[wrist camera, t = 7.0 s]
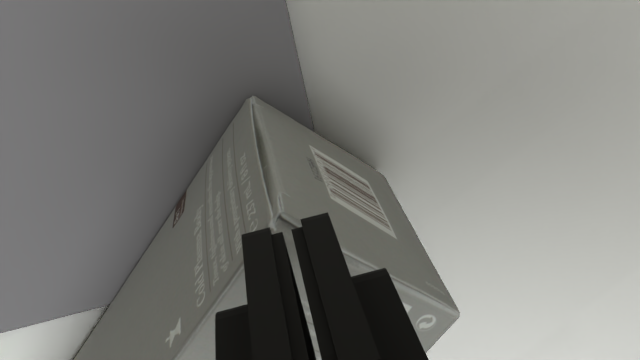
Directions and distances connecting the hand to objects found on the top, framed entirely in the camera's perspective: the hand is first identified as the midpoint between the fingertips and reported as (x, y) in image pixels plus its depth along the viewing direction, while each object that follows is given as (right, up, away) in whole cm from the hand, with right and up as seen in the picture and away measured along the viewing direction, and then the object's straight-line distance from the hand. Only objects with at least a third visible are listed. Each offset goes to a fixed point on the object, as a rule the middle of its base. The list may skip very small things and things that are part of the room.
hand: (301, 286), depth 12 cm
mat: (-9, +3, +10) cm, 13 cm away
